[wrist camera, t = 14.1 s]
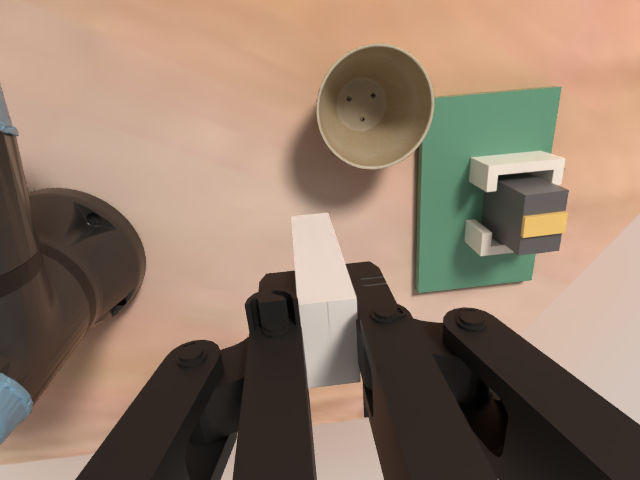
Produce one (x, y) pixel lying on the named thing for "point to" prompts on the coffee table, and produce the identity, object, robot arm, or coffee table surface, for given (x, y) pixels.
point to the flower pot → (375, 106)
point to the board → (478, 182)
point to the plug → (526, 213)
